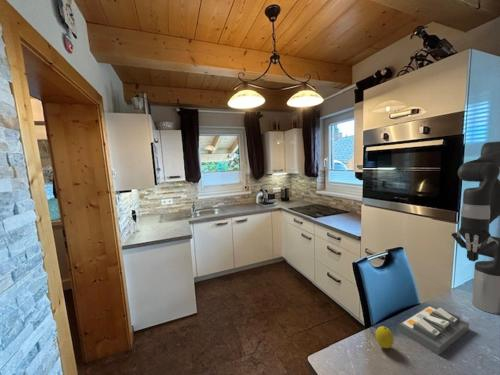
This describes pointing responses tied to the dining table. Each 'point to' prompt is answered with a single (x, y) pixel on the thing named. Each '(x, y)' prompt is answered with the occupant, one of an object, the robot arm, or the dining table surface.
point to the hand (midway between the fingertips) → (472, 260)
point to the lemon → (384, 337)
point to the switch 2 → (445, 314)
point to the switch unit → (446, 333)
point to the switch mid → (438, 321)
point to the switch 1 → (427, 326)
